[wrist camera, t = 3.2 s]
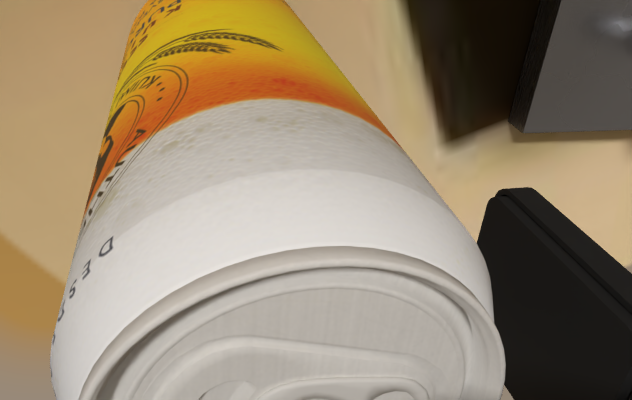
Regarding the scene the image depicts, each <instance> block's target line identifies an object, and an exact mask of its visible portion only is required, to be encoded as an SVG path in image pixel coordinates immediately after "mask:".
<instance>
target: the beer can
mask: <svg viewBox="0 0 632 400" xmlns="http://www.w3.org/2000/svg"><path fill="white" fill-rule="evenodd" d="M50 368H51V381H52V385H53V389H54V393H55V396H56V400H500V399H501V396H502V391H503V387H504V382H505V369H506V362H505V354H504V348H503V344H502V341H501V338H500V335H499V332H498V330H497V328H496V326H495V324H494V312H493V297H492V288H491V280H490V275H489V272H488V269H487V265H486V262H485V259H484V257H483V255H482V253H481V251H480V249H479V247H478V245H477V243H476V242H475V241H474V239H473V238H472V236H471V235H470V234H469V232H468V231H467V229H466V228H465V227H464V226H463V224H462V223H461V222H460V221H459V219H458V218H457V217H456V215H455V214H454V213H453V212H452V210H451V209H450V208H449V207H448V205H447V204H446V203H445V202H444V200H443V199H442V198H441V197H440V195H439V194H438V193H437V192H436V190H435V189H434V188H433V187H432V185H431V184H430V183H429V181H428V180H427V179H426V178H425V176H424V175H423V174H422V173H421V171H420V170H419V169H418V168H417V166H416V165H415V164H414V163H413V161H412V160H411V159H410V158H409V156H408V155H407V154H406V153H405V151H404V150H403V149H402V147H401V146H400V145H399V144H398V142H397V141H396V140H395V139H394V137H393V136H392V135H391V134H390V132H389V131H388V130H387V129H386V127H385V126H384V125H383V124H382V122H381V121H380V120H379V119H378V117H377V116H376V115H375V113H374V112H373V111H372V110H371V108H370V107H369V106H368V105H367V103H366V102H365V101H364V100H363V98H362V97H361V96H360V95H359V93H358V92H357V91H356V90H355V88H354V87H353V86H352V84H351V83H350V82H349V81H348V79H347V78H346V77H345V76H344V74H343V73H342V72H341V71H340V69H339V68H338V67H337V66H336V64H335V63H334V62H333V61H332V59H331V58H330V57H329V56H328V54H327V53H326V52H325V50H324V49H323V48H322V47H321V45H320V44H319V43H318V42H317V40H316V39H315V38H314V37H313V35H312V34H311V33H310V32H309V30H308V29H307V28H306V27H305V25H304V24H303V23H302V22H301V20H300V19H299V18H298V16H297V15H296V14H295V13H294V11H293V10H292V9H291V8H290V6H289V5H288V4H287V3H286V2H285V1H284V0H148V1H147V2H146V4H145V5H144V6H143V8H142V9H141V10H140V12H139V14H138V15H137V17H136V19H135V21H134V23H133V26H132V28H131V30H130V34H129V38H128V42H127V46H126V50H125V53H124V57H123V61H122V65H121V69H120V73H119V77H118V81H117V85H116V89H115V93H114V97H113V101H112V105H111V109H110V113H109V117H108V121H107V125H106V129H105V133H104V137H103V141H102V145H101V149H100V153H99V157H98V161H97V165H96V169H95V173H94V176H93V180H92V184H91V188H90V192H89V196H88V200H87V204H86V208H85V212H84V216H83V220H82V224H81V228H80V232H79V236H78V240H77V244H76V248H75V252H74V256H73V260H72V264H71V268H70V272H69V276H68V280H67V284H66V288H65V292H64V296H63V299H62V304H61V308H60V311H59V315H58V320H57V323H56V327H55V331H54V335H53V339H52V347H51V357H50Z"/></svg>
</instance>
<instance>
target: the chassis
mask: <svg viewBox="0 0 632 400" xmlns="http://www.w3.org/2000/svg"><path fill="white" fill-rule="evenodd" d="M508 122H509V123H511V124H512V125H513V126H515V127H516V128H517V129H518V130H520V131H521V132H522V133H544V132H576V131H608V130H632V0H541V1H540V5H539V8H538V12H537V16H536V19H535V23H534V27H533V30H532V34H531V38H530V42H529V45H528V49H527V53H526V56H525V60H524V64H523V67H522V71H521V75H520V79H519V82H518V86H517V90H516V93H515V97H514V101H513V104H512V108H511V112H510V116H509V119H508Z"/></svg>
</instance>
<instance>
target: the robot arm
mask: <svg viewBox="0 0 632 400" xmlns="http://www.w3.org/2000/svg"><path fill="white" fill-rule="evenodd" d="M477 245H478V247H479V249H480V251H481V253H482V255H483V257H484V259H485V262H486V265H487V269H488V272H489V275H490V280H491V288H492V297H493V312H494V324H495V326H496V328H497V330H498V332H499V335H500V338H501V341H502V344H503V348H504V354H505V362H506V369H505V382H504V385H505V386H506V388H507V389H508V391H509V393H510V394H511V396H512V397H513V399H514V400H632V274H631V273H630V272H629V271H628V270H627V269H626V268H624V267H623V266H622V265H621V264H620V263H619V262H617V261H616V260H615V259H614V258H613V257H612V256H611V255H609V254H608V253H607V252H606V251H605V250H604V249H603V248H601V247H600V246H599V245H598V244H597V243H596V242H594V241H593V240H592V239H591V238H590V237H589V236H588V235H586V234H585V233H584V232H583V231H582V230H581V229H580V228H578V227H577V226H576V225H575V224H574V223H573V222H571V221H570V220H569V219H568V218H567V217H566V216H565V215H563V214H562V213H561V212H560V211H559V210H558V209H557V208H555V207H554V206H553V205H552V204H551V203H550V202H549V201H547V200H546V199H545V198H544V197H543V196H542V195H540V194H539V193H538V192H537V191H536V190H534V189H533V188H528V187H525V188H510V189H502V190H499V191H498V192H497V194H496V195H495V197H493V198H491V199H490V200H489V201H488V204H487V207H486V211H485V215H484V218H483V222H482V226H481V230H480V233H479V237H478V241H477Z"/></svg>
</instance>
